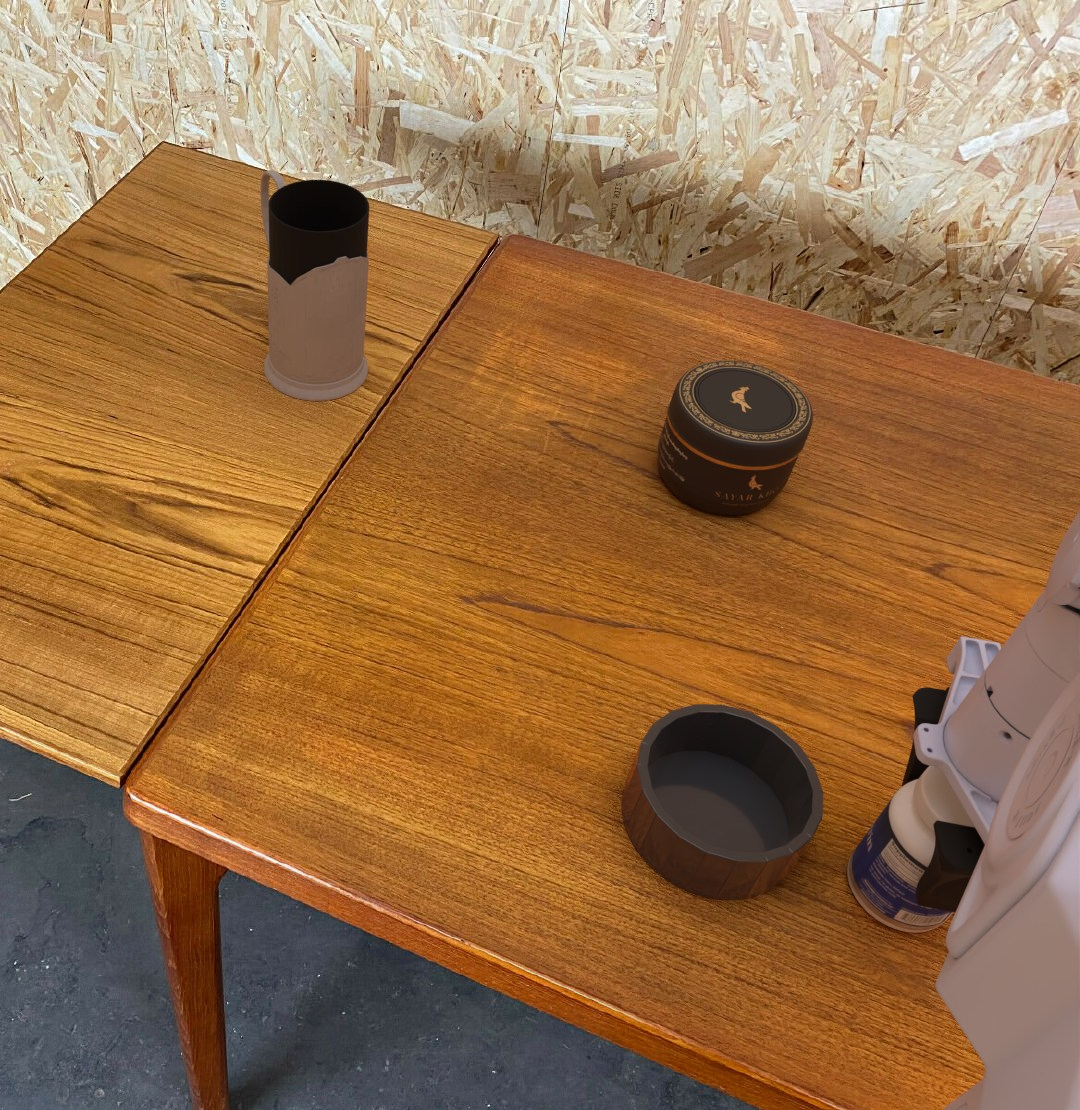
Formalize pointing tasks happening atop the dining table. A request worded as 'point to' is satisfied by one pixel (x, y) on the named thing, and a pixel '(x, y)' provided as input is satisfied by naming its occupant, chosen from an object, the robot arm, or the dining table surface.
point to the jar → (732, 436)
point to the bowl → (721, 801)
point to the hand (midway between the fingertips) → (927, 848)
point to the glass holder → (315, 287)
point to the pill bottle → (904, 853)
